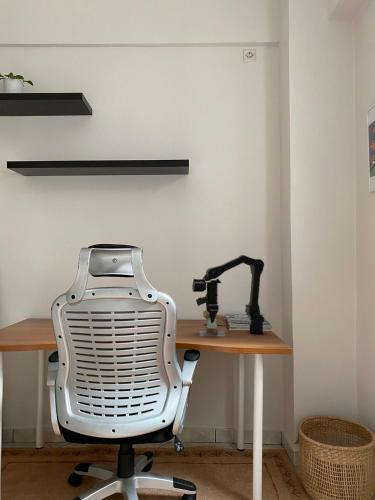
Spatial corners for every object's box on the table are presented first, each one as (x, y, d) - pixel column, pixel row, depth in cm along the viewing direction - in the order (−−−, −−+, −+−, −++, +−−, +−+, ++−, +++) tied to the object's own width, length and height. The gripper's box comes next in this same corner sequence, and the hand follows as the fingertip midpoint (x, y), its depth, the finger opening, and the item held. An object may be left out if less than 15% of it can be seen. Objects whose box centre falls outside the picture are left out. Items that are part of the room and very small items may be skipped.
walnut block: (217, 332, 204) (217, 326, 204) (217, 334, 198) (218, 328, 198) (206, 332, 204) (206, 326, 204) (206, 334, 198) (206, 328, 198)
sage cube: (216, 326, 203) (216, 318, 204) (216, 328, 199) (216, 319, 199) (207, 326, 204) (207, 318, 204) (207, 328, 199) (207, 319, 199)
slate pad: (223, 331, 208) (223, 330, 208) (225, 337, 194) (225, 336, 194) (199, 331, 208) (199, 330, 208) (199, 336, 194) (199, 336, 194)
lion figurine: (202, 325, 226) (202, 310, 226) (203, 324, 231) (203, 309, 231) (227, 326, 225) (227, 311, 225) (227, 324, 230) (227, 309, 230)
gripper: (197, 290, 211) (196, 318, 211) (196, 293, 193) (196, 324, 192) (217, 290, 211) (217, 318, 210) (218, 293, 192) (218, 324, 192)
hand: (211, 321), depth 201 cm, fingers open, 9 cm apart
